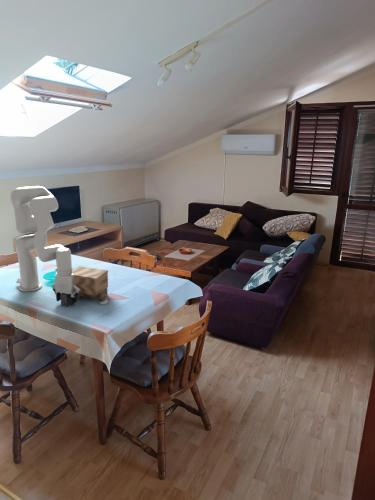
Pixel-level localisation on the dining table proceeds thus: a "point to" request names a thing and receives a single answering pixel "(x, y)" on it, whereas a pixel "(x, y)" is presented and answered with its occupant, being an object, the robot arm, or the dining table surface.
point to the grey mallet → (67, 299)
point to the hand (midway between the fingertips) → (66, 301)
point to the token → (103, 302)
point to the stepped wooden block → (91, 282)
